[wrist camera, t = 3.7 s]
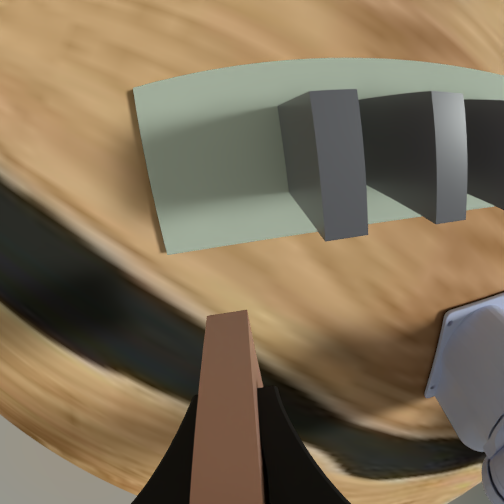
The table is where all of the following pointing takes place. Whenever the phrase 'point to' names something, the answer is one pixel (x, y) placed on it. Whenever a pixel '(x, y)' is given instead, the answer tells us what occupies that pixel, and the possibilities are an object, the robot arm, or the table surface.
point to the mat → (262, 142)
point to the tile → (228, 417)
